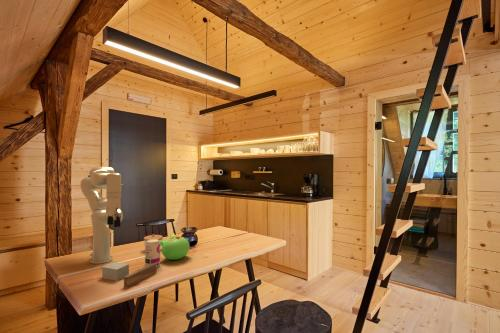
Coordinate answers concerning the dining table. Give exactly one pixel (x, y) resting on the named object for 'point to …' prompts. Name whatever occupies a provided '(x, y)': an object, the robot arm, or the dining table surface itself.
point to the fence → (139, 275)
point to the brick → (115, 271)
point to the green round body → (175, 247)
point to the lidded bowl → (153, 238)
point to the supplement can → (152, 252)
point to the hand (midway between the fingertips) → (113, 225)
